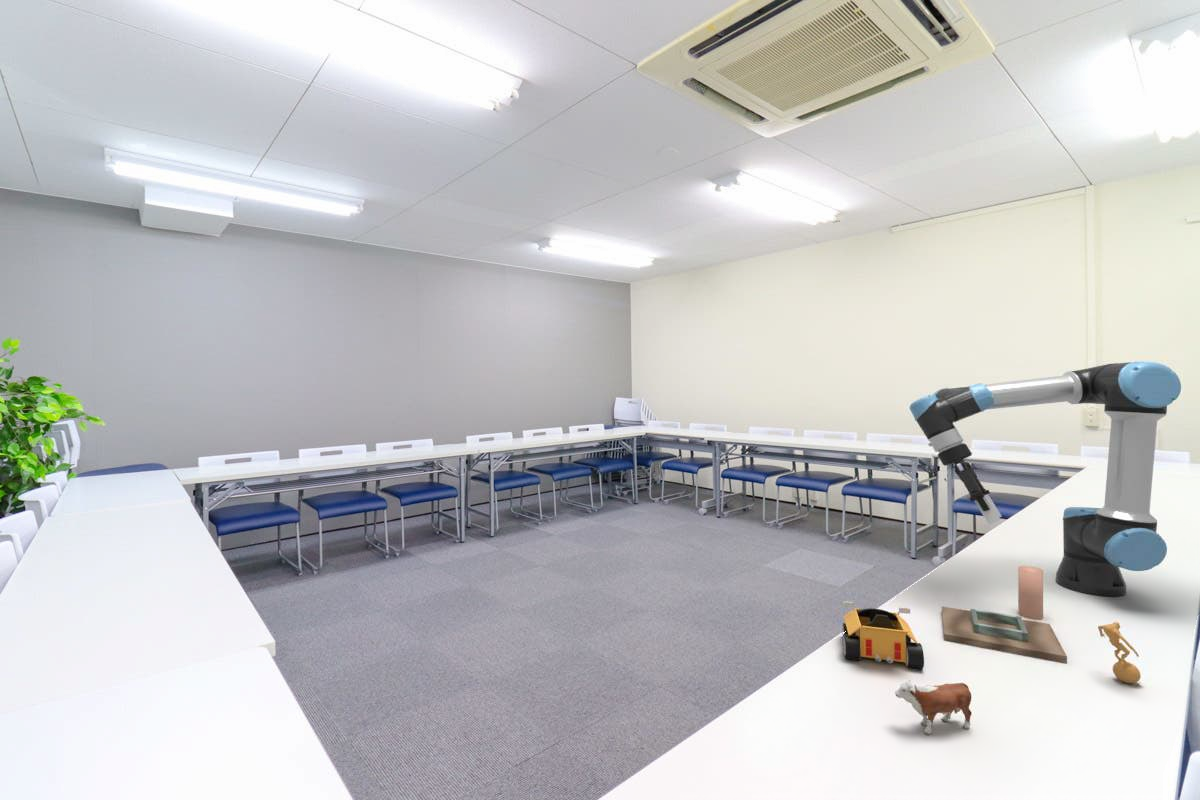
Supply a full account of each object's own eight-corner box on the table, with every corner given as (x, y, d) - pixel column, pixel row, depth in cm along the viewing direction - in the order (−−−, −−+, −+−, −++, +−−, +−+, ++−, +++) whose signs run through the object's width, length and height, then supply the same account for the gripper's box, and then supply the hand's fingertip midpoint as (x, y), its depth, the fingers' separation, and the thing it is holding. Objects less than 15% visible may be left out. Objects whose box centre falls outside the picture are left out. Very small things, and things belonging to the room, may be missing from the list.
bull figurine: (891, 721, 96) (891, 676, 96) (962, 716, 97) (961, 671, 97) (907, 737, 91) (907, 690, 91) (981, 731, 92) (981, 685, 92)
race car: (909, 644, 124) (909, 599, 124) (926, 677, 110) (925, 626, 110) (839, 635, 129) (839, 592, 129) (846, 666, 115) (846, 617, 115)
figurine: (1156, 694, 102) (1157, 632, 102) (1122, 693, 103) (1122, 631, 103) (1118, 671, 111) (1118, 613, 110) (1087, 670, 111) (1087, 613, 111)
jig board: (1049, 629, 129) (1049, 615, 129) (1067, 663, 114) (1067, 647, 114) (941, 611, 141) (941, 598, 141) (944, 640, 125) (944, 625, 125)
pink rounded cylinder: (1041, 613, 138) (1041, 567, 138) (1045, 621, 134) (1045, 573, 134) (1016, 610, 141) (1016, 564, 141) (1019, 617, 137) (1019, 570, 137)
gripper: (941, 454, 161) (982, 521, 153) (930, 453, 141) (977, 530, 134) (967, 443, 157) (1011, 511, 150) (960, 440, 138) (1010, 519, 130)
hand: (995, 520), depth 142 cm, fingers open, 13 cm apart
